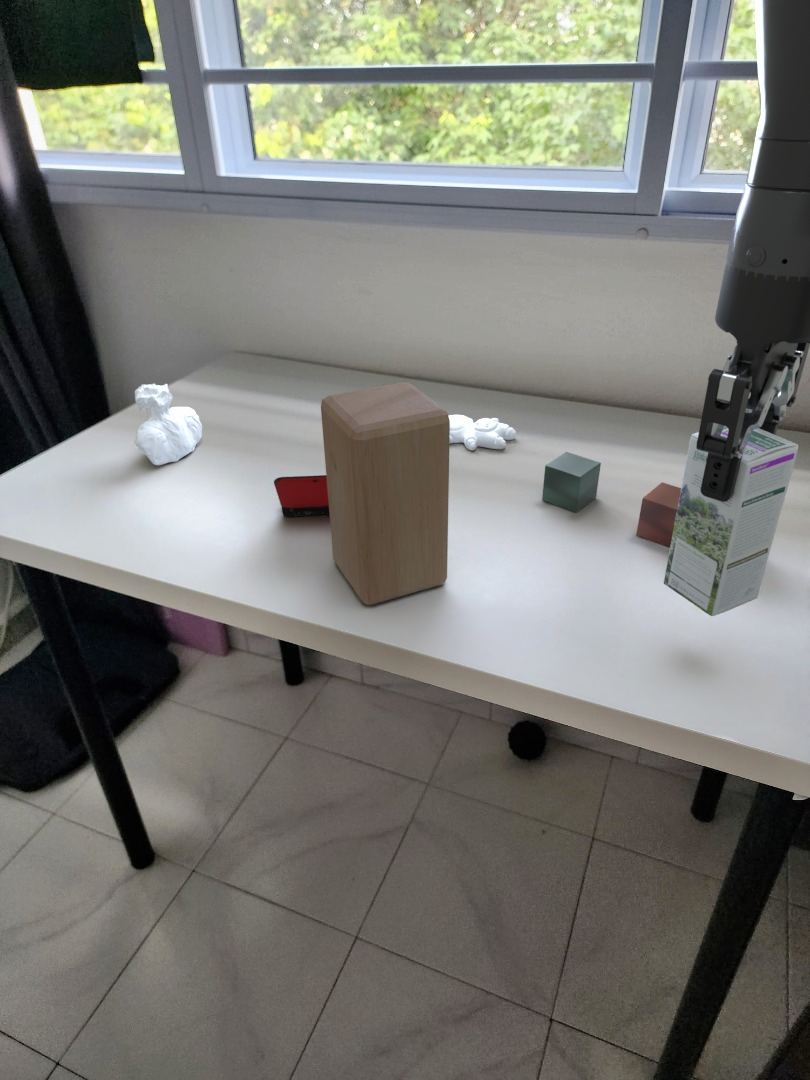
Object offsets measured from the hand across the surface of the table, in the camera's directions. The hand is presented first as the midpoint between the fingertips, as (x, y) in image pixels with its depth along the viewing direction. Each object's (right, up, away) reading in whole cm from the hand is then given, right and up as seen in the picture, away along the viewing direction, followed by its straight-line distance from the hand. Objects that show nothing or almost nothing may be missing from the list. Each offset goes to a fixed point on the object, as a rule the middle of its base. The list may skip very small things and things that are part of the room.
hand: (734, 478), depth 59 cm
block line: (+2, -3, +31) cm, 32 cm away
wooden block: (-28, -9, +24) cm, 37 cm away
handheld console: (-35, -1, +36) cm, 50 cm away
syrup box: (0, -9, +6) cm, 11 cm away
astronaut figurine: (-16, +10, +53) cm, 56 cm away
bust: (-60, +8, +50) cm, 79 cm away
